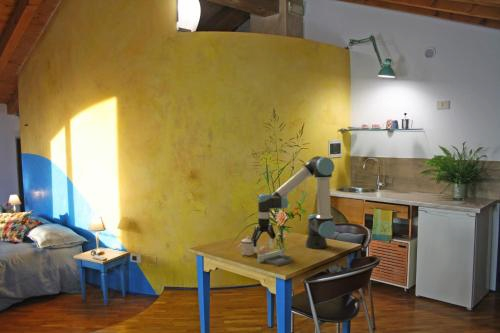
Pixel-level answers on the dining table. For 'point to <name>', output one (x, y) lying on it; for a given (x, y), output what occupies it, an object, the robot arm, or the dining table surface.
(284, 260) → the tray
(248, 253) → the teacup with lid
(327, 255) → the dining table surface
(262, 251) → the ball
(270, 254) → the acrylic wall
